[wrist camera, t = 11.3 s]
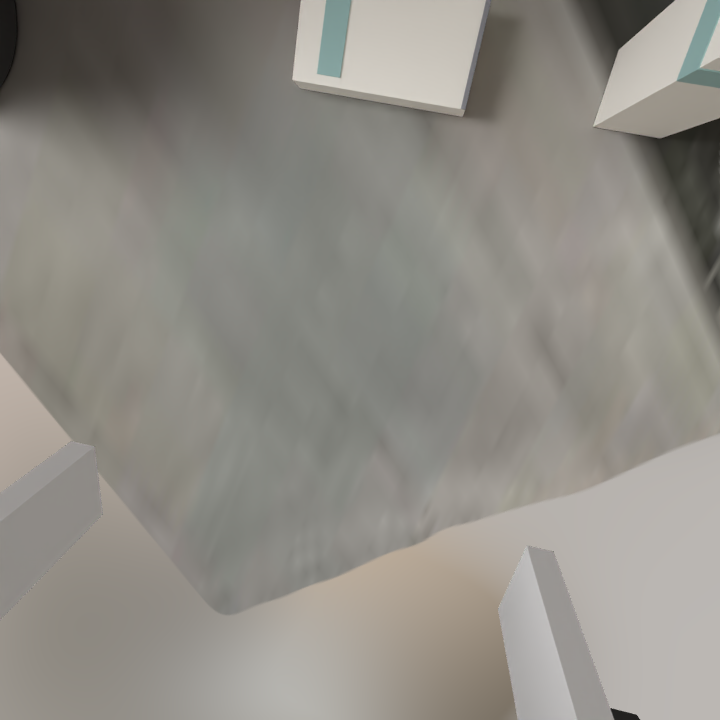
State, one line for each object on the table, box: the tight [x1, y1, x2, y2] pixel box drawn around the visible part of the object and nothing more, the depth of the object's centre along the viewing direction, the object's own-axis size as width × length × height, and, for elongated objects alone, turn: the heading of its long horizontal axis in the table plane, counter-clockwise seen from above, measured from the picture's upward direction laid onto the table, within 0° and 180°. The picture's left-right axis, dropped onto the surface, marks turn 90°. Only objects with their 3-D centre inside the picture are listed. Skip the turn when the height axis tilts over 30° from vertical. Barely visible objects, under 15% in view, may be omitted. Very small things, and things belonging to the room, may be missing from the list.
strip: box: [292, 0, 491, 117], centre depth 28 cm, size 12×6×2 cm, turn 79°
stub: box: [593, 0, 720, 138], centre depth 21 cm, size 5×5×13 cm
